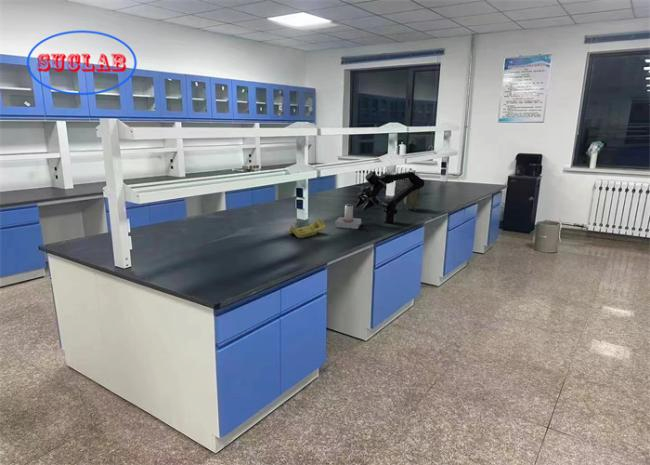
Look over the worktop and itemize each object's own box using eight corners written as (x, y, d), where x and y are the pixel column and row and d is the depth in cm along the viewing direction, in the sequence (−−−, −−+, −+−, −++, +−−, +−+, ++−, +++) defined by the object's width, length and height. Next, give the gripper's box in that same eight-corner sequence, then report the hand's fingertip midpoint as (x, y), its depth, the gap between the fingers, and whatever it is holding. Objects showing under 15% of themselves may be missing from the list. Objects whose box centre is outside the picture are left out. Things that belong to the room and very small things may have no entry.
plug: (347, 222, 268) (348, 203, 265) (354, 224, 264) (354, 204, 261) (342, 224, 264) (343, 204, 261) (348, 225, 261) (349, 205, 258)
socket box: (339, 222, 273) (339, 215, 272) (361, 224, 270) (361, 217, 269) (334, 227, 259) (335, 220, 258) (357, 229, 256) (358, 222, 255)
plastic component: (299, 234, 231) (290, 223, 237) (297, 245, 236) (287, 234, 242) (328, 227, 243) (319, 217, 248) (325, 237, 247) (316, 227, 253)
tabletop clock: (418, 211, 312) (420, 177, 306) (405, 211, 312) (408, 177, 306) (414, 208, 326) (417, 175, 320) (402, 207, 326) (405, 175, 320)
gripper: (360, 179, 271) (344, 197, 270) (375, 183, 255) (358, 202, 253) (370, 191, 276) (355, 209, 275) (386, 195, 260) (369, 214, 258)
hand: (359, 208), depth 265 cm, fingers open, 9 cm apart
